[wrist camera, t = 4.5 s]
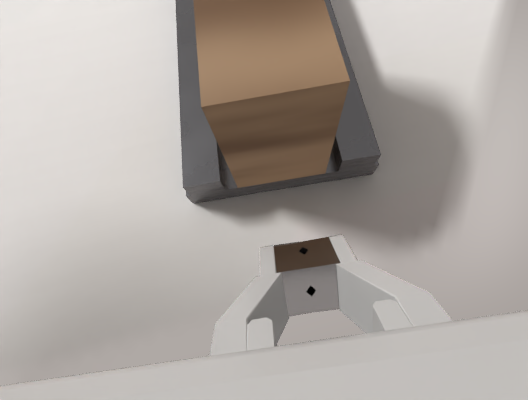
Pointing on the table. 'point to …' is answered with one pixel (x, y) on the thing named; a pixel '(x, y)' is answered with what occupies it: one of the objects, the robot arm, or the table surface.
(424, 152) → the table surface
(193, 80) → the slot bed
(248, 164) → the brown wooden block
